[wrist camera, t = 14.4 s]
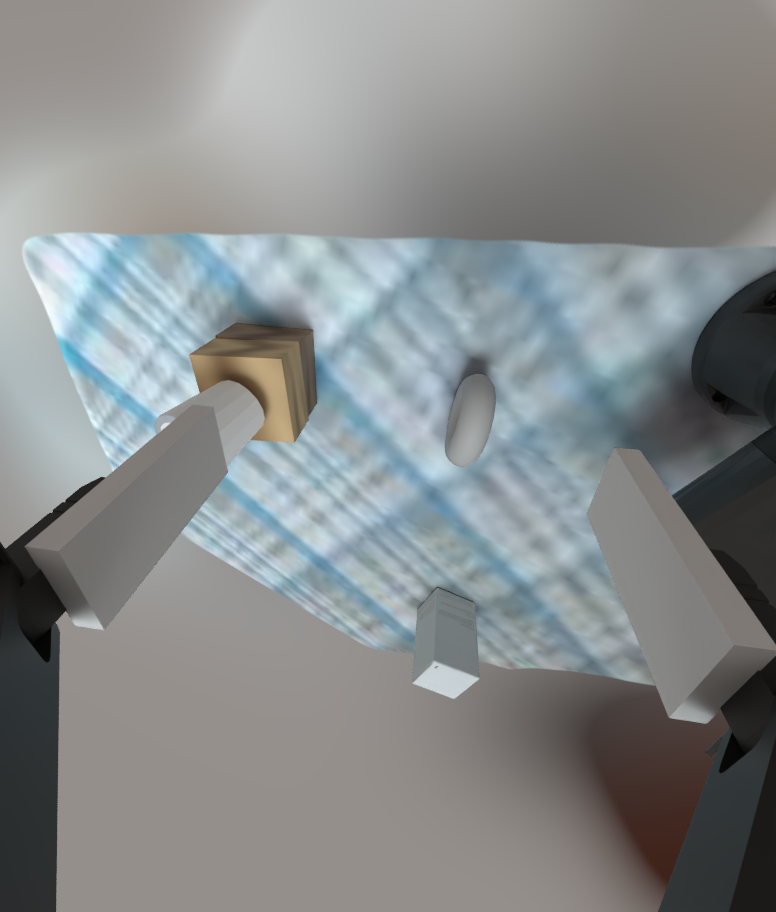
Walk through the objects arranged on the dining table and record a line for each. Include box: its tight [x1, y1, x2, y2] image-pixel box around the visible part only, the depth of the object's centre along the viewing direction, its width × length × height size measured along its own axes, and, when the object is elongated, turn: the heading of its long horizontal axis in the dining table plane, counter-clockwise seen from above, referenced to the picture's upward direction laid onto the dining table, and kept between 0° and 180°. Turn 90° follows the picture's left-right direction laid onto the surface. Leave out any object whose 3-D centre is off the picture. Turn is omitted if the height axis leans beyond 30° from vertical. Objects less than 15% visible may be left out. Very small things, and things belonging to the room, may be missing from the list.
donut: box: [445, 374, 496, 467], centre depth 44 cm, size 10×3×10 cm, turn 169°
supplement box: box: [412, 588, 480, 699], centre depth 64 cm, size 7×7×13 cm
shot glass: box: [155, 380, 265, 466], centre depth 37 cm, size 7×7×7 cm
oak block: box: [189, 338, 309, 443], centre depth 42 cm, size 9×9×5 cm
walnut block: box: [216, 323, 317, 417], centre depth 47 cm, size 9×9×5 cm
